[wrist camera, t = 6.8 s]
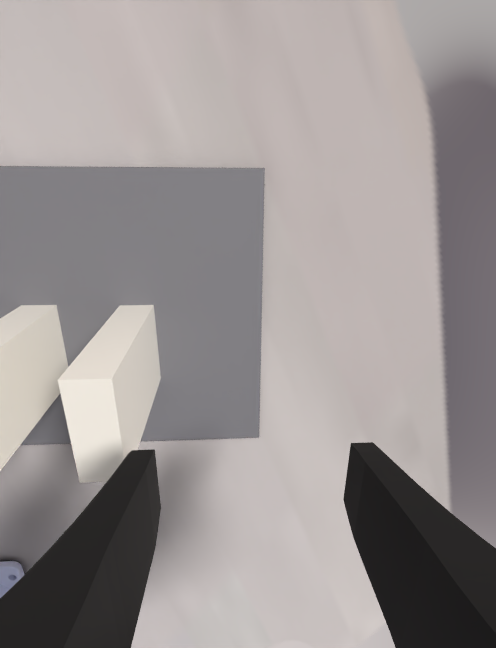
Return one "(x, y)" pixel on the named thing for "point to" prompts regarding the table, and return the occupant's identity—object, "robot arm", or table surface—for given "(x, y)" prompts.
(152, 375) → the domino
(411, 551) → the robot arm
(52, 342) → the domino
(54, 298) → the runner mat
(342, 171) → the table surface
